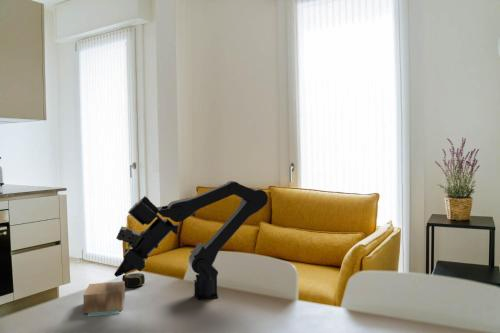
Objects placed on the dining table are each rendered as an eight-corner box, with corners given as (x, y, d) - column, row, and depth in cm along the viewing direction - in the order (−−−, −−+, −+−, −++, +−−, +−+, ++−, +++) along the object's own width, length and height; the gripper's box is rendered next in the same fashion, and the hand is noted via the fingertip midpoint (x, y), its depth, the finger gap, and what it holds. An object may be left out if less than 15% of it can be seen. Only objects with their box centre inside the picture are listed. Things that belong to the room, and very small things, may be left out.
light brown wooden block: (124, 281, 123) (89, 284, 120) (121, 291, 113) (83, 295, 111) (124, 297, 123) (89, 300, 121) (122, 309, 113) (83, 313, 111)
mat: (123, 296, 125) (123, 295, 125) (118, 313, 111) (118, 312, 111) (95, 298, 123) (95, 297, 123) (87, 316, 109) (87, 315, 109)
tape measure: (142, 281, 140) (142, 271, 139) (146, 287, 133) (146, 276, 133) (122, 284, 137) (122, 273, 137) (124, 290, 131) (124, 279, 130)
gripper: (135, 212, 127) (98, 250, 125) (131, 222, 109) (88, 265, 107) (161, 236, 129) (125, 273, 127) (161, 249, 111) (120, 292, 109)
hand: (115, 275), depth 117 cm, fingers closed
